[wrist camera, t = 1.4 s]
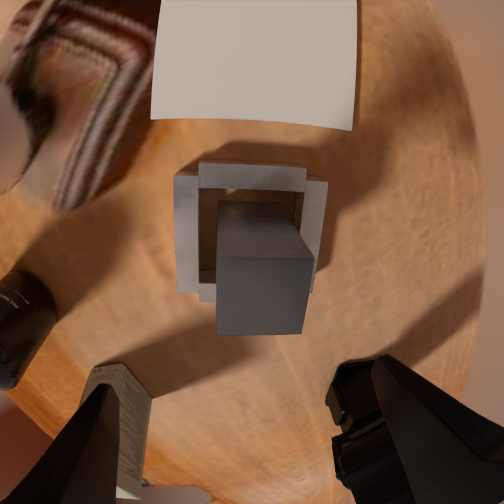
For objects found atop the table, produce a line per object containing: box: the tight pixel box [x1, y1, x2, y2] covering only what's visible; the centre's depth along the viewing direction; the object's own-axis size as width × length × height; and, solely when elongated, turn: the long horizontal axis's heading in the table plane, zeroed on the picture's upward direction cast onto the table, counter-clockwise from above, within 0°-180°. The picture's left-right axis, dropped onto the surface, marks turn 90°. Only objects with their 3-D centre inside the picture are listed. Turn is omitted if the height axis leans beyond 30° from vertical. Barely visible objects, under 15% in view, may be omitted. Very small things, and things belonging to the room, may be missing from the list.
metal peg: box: [216, 200, 315, 336], centre depth 17 cm, size 4×4×9 cm
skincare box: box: [77, 363, 152, 499], centre depth 21 cm, size 6×4×12 cm
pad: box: [151, 0, 357, 131], centre depth 15 cm, size 13×13×1 cm
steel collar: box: [174, 160, 329, 302], centre depth 20 cm, size 10×10×2 cm
